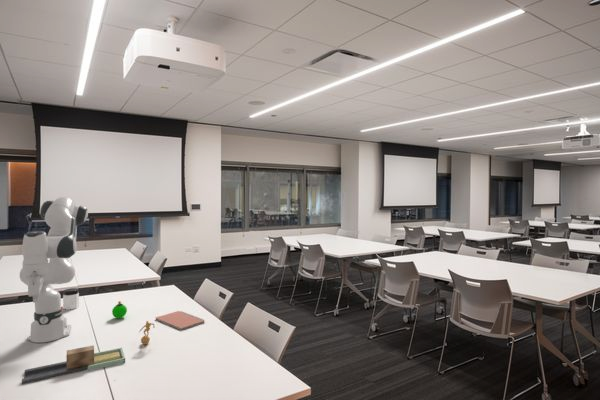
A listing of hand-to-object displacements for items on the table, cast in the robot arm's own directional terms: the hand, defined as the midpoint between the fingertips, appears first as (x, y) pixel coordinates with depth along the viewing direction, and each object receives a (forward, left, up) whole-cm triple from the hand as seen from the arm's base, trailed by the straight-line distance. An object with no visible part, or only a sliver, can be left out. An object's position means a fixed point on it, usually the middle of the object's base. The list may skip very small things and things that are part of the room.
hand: (36, 301), depth 154 cm
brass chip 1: (+3, +25, -28) cm, 38 cm away
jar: (-90, -12, -29) cm, 95 cm away
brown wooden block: (+5, +18, -28) cm, 33 cm away
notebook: (-44, +57, -30) cm, 78 cm away
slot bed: (+7, +9, -29) cm, 31 cm away
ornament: (-60, +22, -29) cm, 70 cm away
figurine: (-14, +42, -29) cm, 53 cm away
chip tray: (+2, +27, -29) cm, 40 cm away
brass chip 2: (+2, +30, -28) cm, 41 cm away
